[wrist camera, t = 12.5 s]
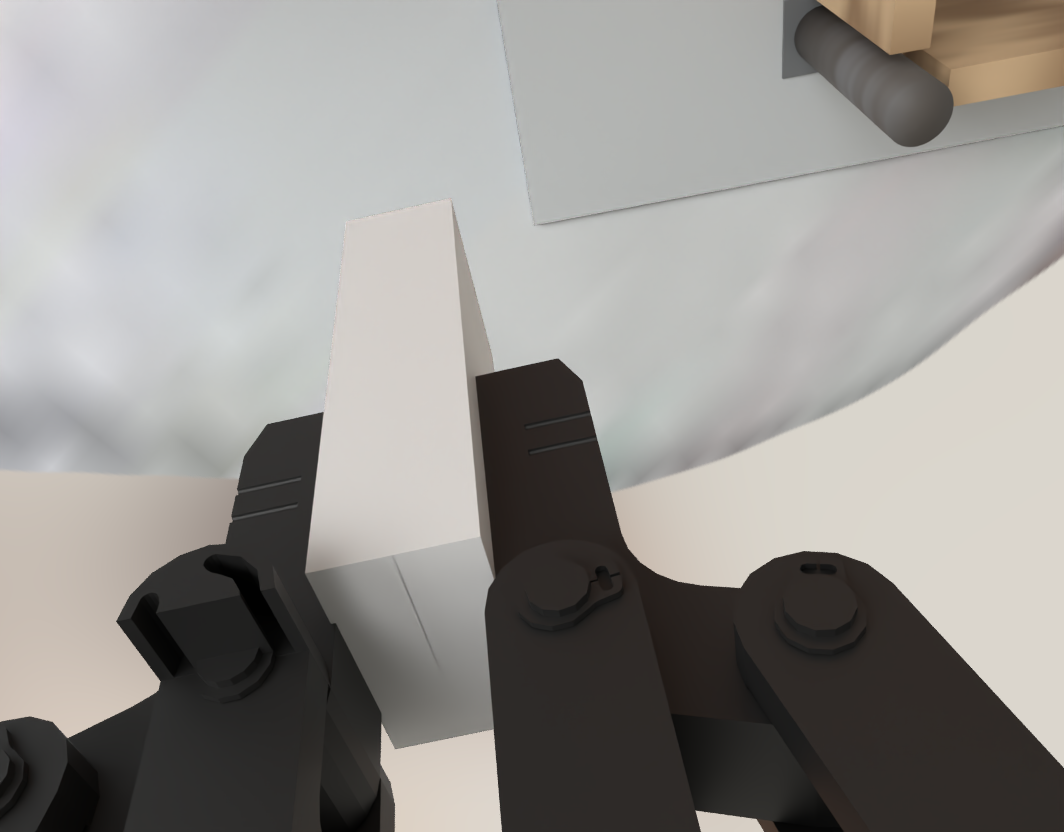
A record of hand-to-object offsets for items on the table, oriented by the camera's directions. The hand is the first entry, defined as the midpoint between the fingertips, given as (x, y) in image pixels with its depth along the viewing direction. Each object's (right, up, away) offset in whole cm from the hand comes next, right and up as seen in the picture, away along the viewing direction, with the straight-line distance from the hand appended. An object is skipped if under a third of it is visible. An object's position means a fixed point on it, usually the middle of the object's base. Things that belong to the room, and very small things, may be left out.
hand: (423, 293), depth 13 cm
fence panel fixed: (+18, +13, +20) cm, 30 cm away
